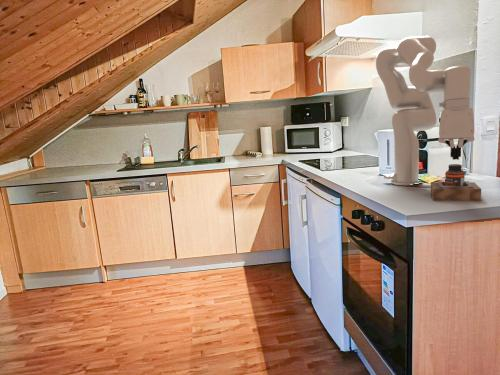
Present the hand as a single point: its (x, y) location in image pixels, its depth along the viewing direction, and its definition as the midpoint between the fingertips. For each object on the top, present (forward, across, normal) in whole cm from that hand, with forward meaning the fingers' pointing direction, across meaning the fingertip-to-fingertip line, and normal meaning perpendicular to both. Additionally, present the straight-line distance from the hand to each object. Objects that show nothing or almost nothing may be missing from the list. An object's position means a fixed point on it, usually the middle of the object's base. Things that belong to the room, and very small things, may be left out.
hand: (455, 159), depth 123 cm
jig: (+13, 0, 0) cm, 13 cm away
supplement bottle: (+13, 0, 0) cm, 14 cm away
